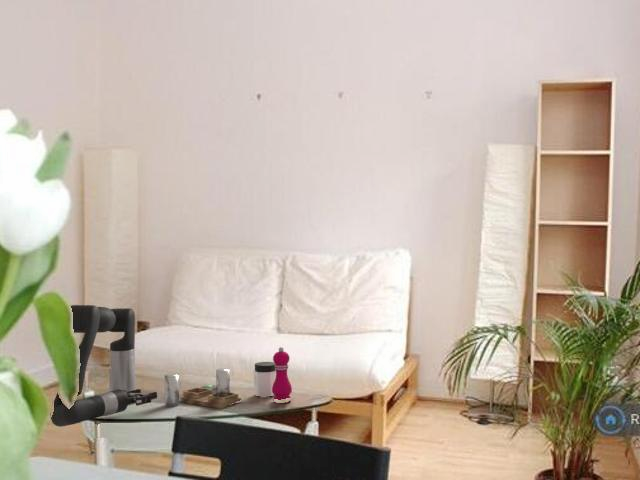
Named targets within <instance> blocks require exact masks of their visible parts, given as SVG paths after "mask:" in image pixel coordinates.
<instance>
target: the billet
mask: <svg viewBox="0 0 640 480" xmlns="http://www.w3.org/2000/svg"><path fill="white" fill-rule="evenodd" d="M179 376H180V375H179V373H167V374H164V407H167V408H174V407H175V408H176V407H178V406H180V385H179V383H180V381H179V380H180V379H179Z"/></svg>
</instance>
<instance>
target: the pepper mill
mask: <svg viewBox="0 0 640 480" xmlns="http://www.w3.org/2000/svg"><path fill="white" fill-rule="evenodd" d="M272 357H273V358H272V362H274V363H275V364H276V365H275V369H276V379H275V381H274V384H273V387H272V392H273V394H274V395H275V396H273V400H274V399H278V400H281V399H286V398H290V397H291V394H292V392H293V389H292V388H293V387H292V384H291V382H290V380H289V377H288V369H289V364H288V363H290V355H289V353H288V352H286V351H284V347H283V346H280V347H279V348H278V351H277V352H275V353H274V355H273V356H272Z"/></svg>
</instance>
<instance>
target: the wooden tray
mask: <svg viewBox="0 0 640 480" xmlns="http://www.w3.org/2000/svg"><path fill="white" fill-rule="evenodd" d="M200 387H201V386H198V387H193V388H190V389H187V390H183V391H182V396H181V397H180V402H181V403H187V404H193V405H197V406H203V407H209V408H214V409H220V410H221V409H223V408H226V406H227V407H229V406H228V405H230V404H232V403H235V402H237V401H240V400H241V401H242V398H241V397H239V393H236V392H231V391H230V396H227V397H218V396H216V393H215V394H213V390H212V389H206V388H200ZM230 406H231V405H230Z"/></svg>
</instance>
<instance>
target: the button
mask: <svg viewBox="0 0 640 480" xmlns="http://www.w3.org/2000/svg"><path fill="white" fill-rule="evenodd" d="M203 386H204V388H208V389H209V388H212V384H205V385H203Z"/></svg>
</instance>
